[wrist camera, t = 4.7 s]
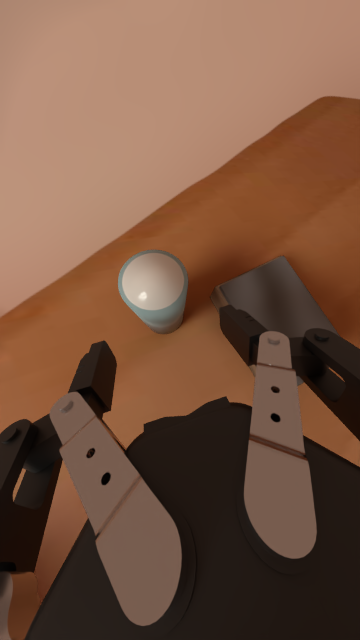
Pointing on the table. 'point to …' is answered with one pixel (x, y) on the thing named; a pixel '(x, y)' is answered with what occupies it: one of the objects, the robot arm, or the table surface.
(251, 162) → the table surface
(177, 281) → the ceramic tumbler
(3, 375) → the table surface
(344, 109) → the table surface
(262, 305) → the dark grey slab
